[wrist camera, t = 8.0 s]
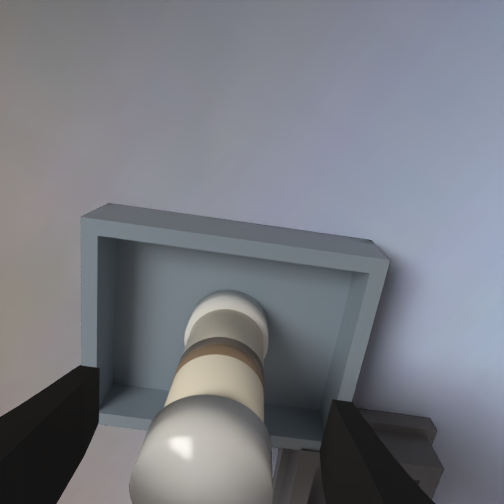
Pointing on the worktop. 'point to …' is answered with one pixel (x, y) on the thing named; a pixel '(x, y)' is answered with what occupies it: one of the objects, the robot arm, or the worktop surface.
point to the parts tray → (224, 278)
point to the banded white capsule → (212, 413)
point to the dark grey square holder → (392, 436)
